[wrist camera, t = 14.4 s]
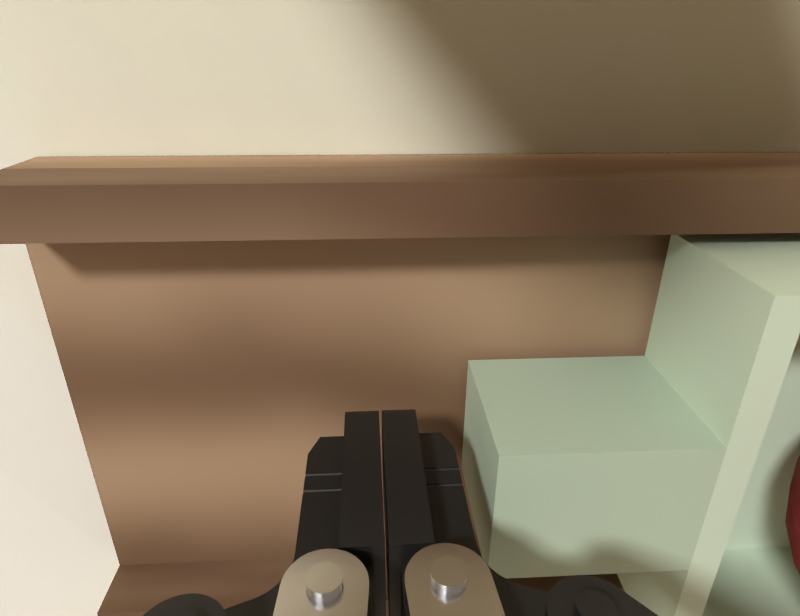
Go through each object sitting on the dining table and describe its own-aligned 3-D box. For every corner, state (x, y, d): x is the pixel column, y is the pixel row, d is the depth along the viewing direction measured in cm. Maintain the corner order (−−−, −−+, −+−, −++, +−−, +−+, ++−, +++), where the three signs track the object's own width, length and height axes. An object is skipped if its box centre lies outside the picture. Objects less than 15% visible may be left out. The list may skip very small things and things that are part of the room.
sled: (476, 234, 11) (514, 301, 8) (1077, 226, 12) (1305, 285, 9) (455, 552, 15) (477, 673, 12) (913, 532, 16) (1038, 643, 13)
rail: (37, 156, 12) (-218, 245, 7) (1085, 150, 13) (1557, 221, 8) (143, 554, 16) (44, 782, 11) (894, 523, 18) (1107, 717, 13)
